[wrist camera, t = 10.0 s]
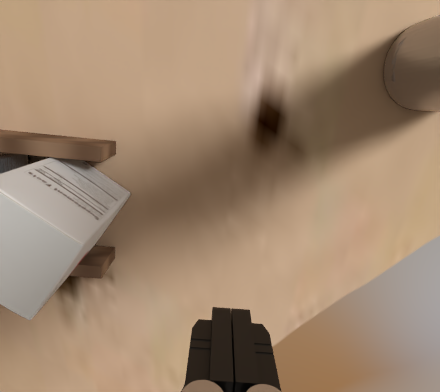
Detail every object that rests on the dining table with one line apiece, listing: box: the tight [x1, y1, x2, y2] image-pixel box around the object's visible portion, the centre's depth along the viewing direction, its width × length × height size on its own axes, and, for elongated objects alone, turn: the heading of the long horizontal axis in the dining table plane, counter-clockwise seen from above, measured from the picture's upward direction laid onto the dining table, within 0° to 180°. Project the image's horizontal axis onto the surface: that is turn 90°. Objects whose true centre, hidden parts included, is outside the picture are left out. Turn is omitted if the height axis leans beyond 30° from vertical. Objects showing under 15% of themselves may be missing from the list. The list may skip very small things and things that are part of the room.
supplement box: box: [0, 157, 131, 320], centre depth 32 cm, size 9×9×15 cm
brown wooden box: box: [0, 130, 116, 278], centre depth 36 cm, size 18×15×7 cm
